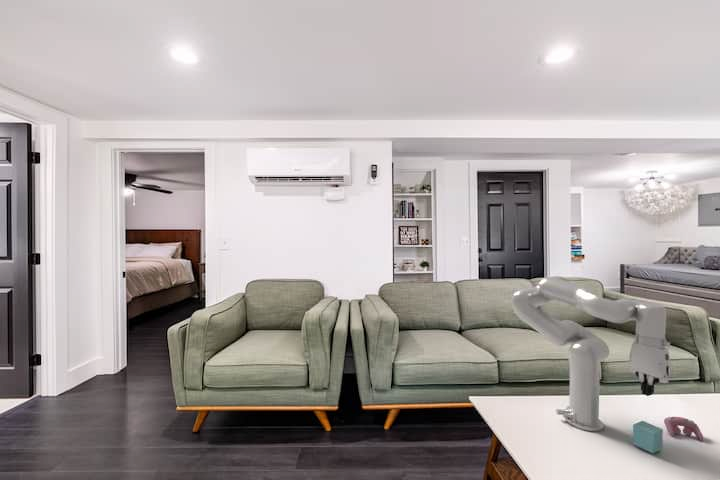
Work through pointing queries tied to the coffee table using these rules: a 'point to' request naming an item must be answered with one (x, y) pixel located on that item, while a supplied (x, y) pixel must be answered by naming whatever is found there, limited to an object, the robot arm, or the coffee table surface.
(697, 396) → the coffee table surface
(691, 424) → the video game controller
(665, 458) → the coffee table surface
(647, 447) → the teal block
